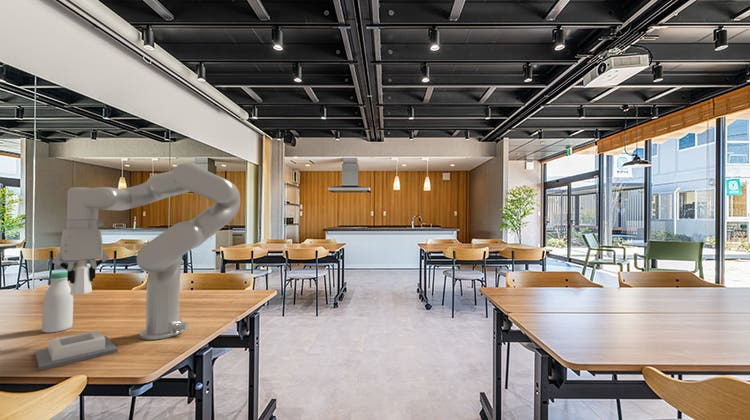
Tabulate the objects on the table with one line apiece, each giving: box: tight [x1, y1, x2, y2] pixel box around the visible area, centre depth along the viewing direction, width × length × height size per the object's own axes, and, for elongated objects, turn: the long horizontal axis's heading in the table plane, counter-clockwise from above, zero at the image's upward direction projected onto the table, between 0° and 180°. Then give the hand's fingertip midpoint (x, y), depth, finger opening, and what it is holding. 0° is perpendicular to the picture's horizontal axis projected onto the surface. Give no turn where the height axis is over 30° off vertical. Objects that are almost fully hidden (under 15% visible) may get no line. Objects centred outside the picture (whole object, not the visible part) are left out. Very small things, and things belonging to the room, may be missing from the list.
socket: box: [34, 329, 119, 372], centre depth 94 cm, size 16×16×4 cm
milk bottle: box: [41, 271, 74, 333], centre depth 115 cm, size 8×8×20 cm
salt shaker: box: [70, 260, 93, 296], centre depth 105 cm, size 5×5×11 cm
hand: (81, 281), depth 105 cm, fingers closed on salt shaker, 3 cm apart
